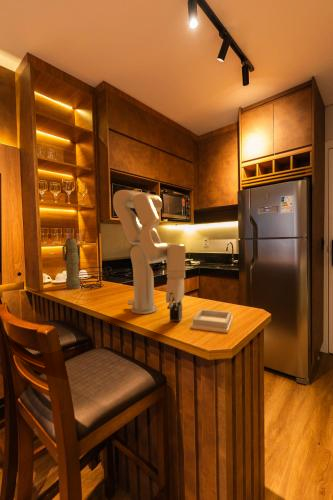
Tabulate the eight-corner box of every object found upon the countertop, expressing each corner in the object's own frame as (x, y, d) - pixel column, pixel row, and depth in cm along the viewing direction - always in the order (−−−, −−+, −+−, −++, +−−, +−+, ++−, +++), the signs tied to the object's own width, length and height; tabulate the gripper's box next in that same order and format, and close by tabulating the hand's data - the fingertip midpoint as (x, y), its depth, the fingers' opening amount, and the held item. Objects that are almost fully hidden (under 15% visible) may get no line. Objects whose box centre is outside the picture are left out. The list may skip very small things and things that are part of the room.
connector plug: (166, 319, 99) (166, 305, 98) (169, 316, 102) (169, 302, 102) (178, 321, 97) (179, 306, 96) (182, 317, 100) (182, 304, 100)
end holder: (190, 328, 91) (190, 320, 91) (200, 314, 106) (200, 308, 106) (227, 332, 86) (227, 324, 86) (233, 318, 101) (233, 311, 101)
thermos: (84, 287, 170) (82, 237, 168) (69, 290, 161) (66, 238, 158) (77, 285, 175) (74, 238, 173) (62, 288, 166) (59, 238, 163)
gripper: (174, 270, 107) (174, 309, 108) (159, 277, 91) (159, 323, 93) (190, 271, 104) (190, 312, 106) (178, 278, 88) (177, 326, 90)
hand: (175, 316), depth 99 cm, fingers closed on connector plug, 4 cm apart
